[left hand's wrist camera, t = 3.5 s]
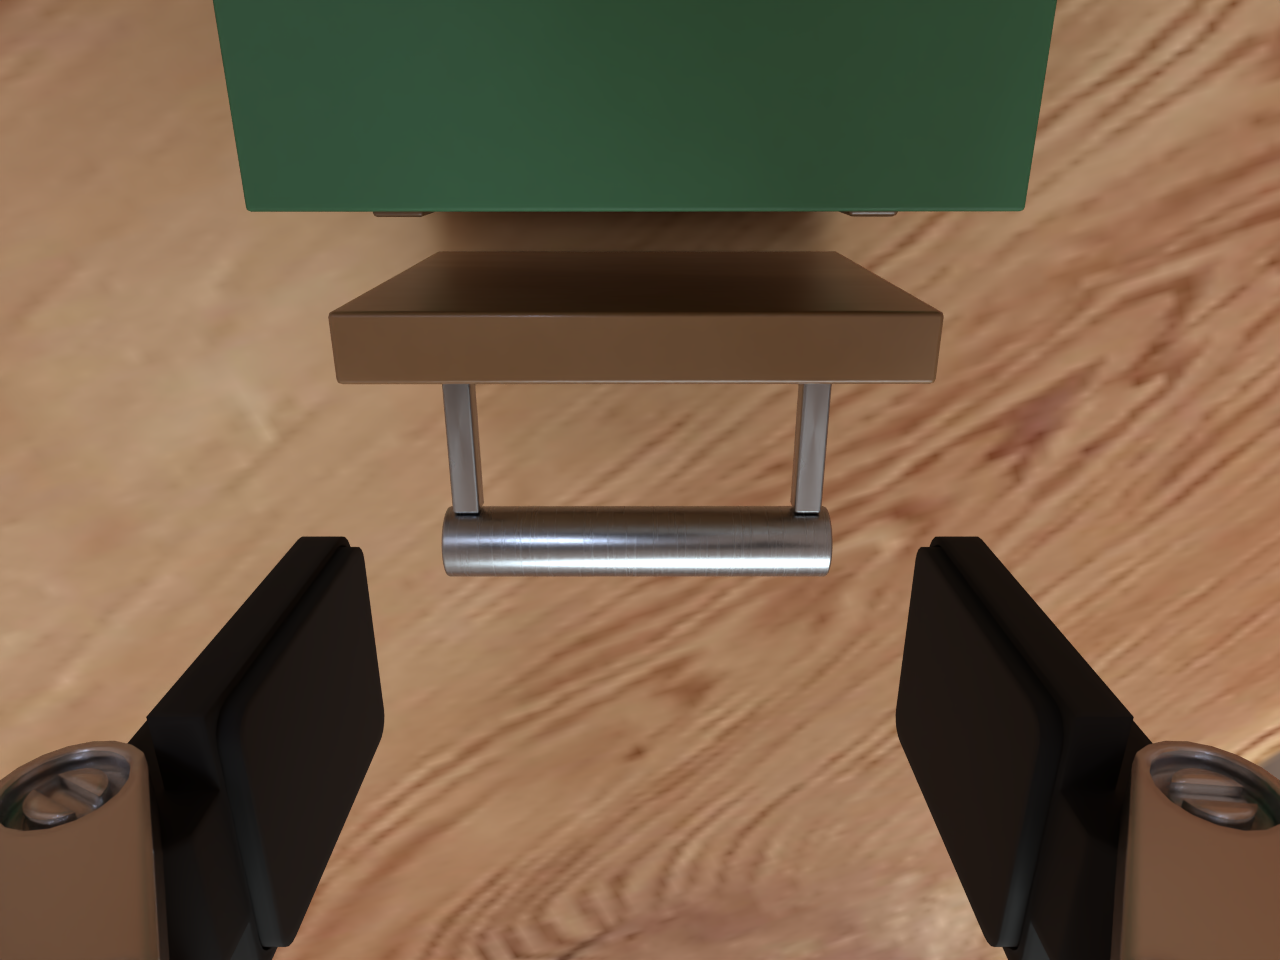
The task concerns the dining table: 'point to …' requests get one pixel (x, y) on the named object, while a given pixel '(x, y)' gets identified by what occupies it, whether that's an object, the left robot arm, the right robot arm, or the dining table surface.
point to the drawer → (636, 354)
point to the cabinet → (634, 104)
